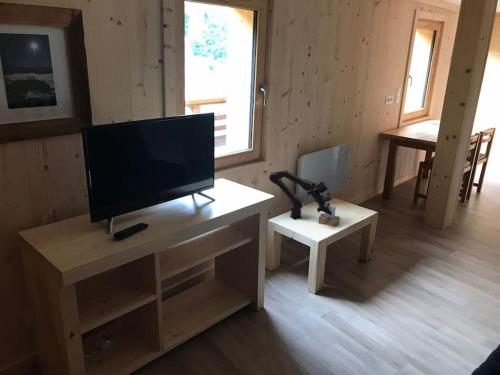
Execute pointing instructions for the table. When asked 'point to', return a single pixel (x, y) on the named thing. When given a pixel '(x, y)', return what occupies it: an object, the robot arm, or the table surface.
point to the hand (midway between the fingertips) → (331, 214)
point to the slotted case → (329, 220)
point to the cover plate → (332, 210)
